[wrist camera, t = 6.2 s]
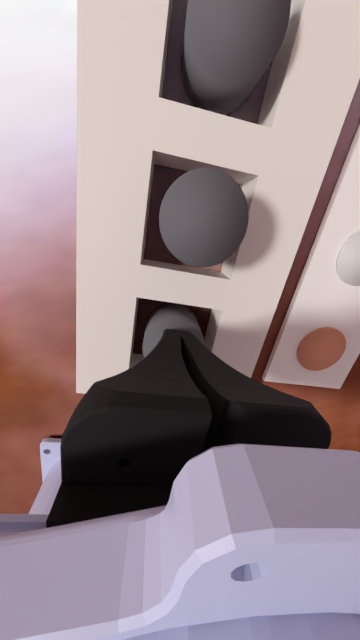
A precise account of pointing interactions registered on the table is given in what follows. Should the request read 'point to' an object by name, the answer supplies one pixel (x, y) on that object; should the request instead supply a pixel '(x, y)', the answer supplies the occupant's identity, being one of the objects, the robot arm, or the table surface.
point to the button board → (192, 153)
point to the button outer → (230, 49)
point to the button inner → (169, 324)
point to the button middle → (203, 217)
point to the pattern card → (326, 295)
